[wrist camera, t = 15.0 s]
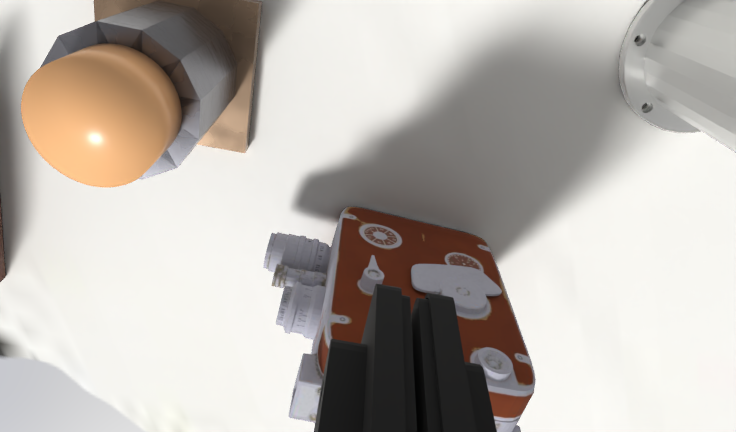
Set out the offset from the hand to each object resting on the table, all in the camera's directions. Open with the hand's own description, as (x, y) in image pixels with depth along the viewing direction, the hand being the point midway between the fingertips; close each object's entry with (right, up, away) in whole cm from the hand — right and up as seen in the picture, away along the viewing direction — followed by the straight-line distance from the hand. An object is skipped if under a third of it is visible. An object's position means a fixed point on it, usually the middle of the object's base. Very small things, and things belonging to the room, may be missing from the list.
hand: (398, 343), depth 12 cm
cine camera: (0, 0, +39) cm, 39 cm away
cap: (-16, +11, +24) cm, 31 cm away
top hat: (-16, +15, +31) cm, 38 cm away
